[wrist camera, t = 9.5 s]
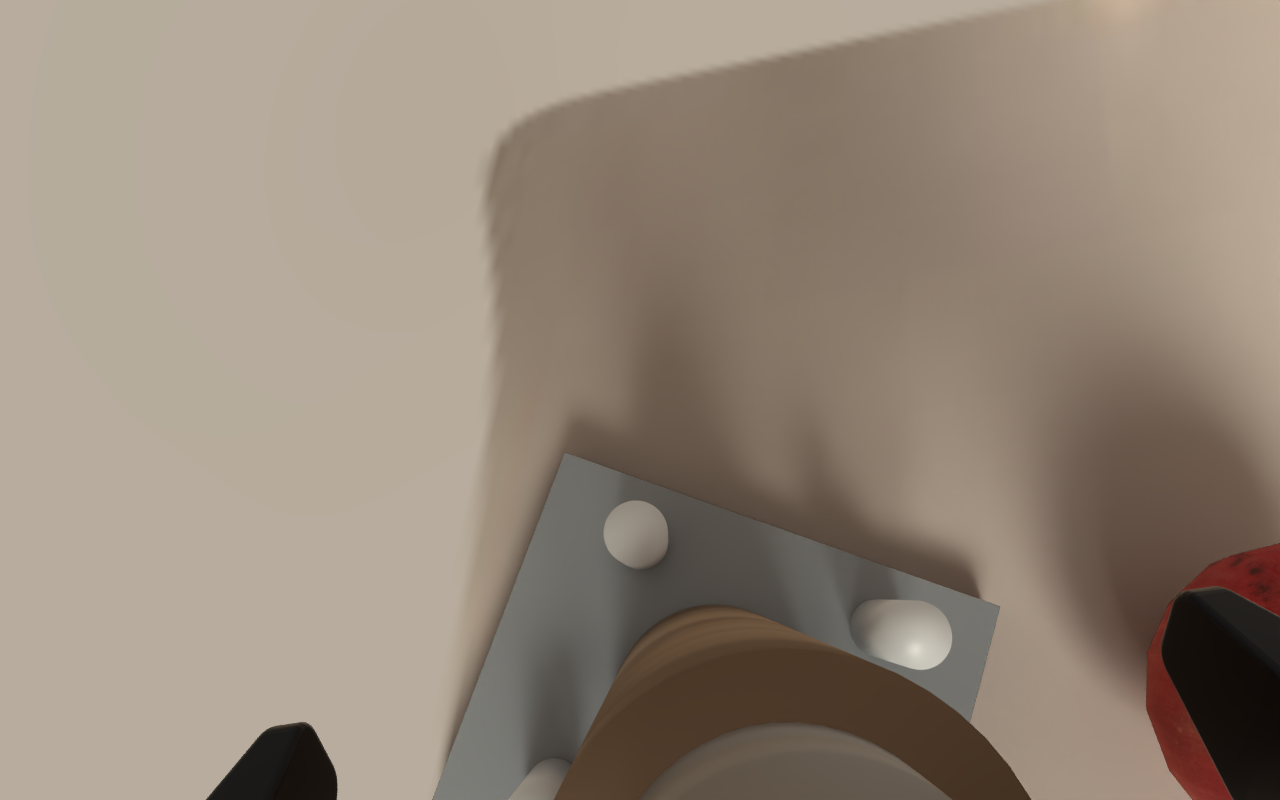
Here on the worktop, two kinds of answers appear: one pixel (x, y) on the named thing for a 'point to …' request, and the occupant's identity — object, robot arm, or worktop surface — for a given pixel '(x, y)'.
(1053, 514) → the worktop surface
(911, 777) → the pepper mill
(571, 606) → the pin tray
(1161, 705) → the pomegranate
